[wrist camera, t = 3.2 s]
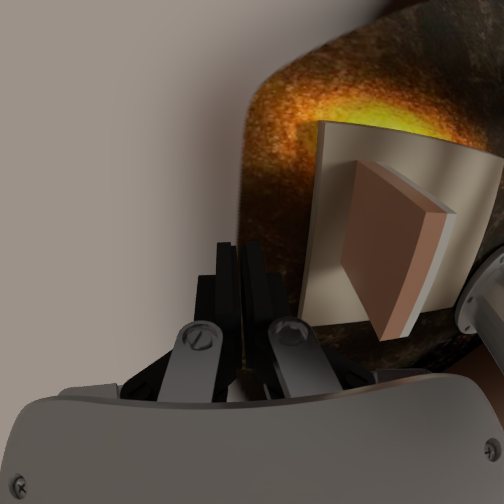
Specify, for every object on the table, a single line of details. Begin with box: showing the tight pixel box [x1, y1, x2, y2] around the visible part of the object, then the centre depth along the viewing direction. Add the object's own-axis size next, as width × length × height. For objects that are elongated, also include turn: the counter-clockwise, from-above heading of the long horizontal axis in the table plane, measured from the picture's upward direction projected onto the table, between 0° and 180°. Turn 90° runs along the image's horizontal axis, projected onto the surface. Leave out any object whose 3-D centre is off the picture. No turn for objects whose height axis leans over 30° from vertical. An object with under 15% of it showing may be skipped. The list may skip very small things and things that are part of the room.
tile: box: [340, 160, 457, 341], centre depth 14 cm, size 2×7×7 cm, turn 179°
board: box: [297, 120, 504, 326], centre depth 19 cm, size 16×15×1 cm
